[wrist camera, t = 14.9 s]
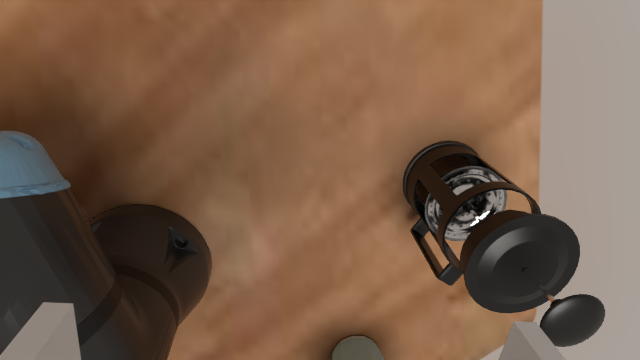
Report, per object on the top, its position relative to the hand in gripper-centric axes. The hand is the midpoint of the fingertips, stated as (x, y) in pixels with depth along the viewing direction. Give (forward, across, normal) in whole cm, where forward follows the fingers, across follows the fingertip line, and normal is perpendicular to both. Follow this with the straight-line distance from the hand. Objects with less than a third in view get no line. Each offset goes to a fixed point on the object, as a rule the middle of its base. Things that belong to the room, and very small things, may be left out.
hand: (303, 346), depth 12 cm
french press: (+32, +18, -7) cm, 37 cm away
